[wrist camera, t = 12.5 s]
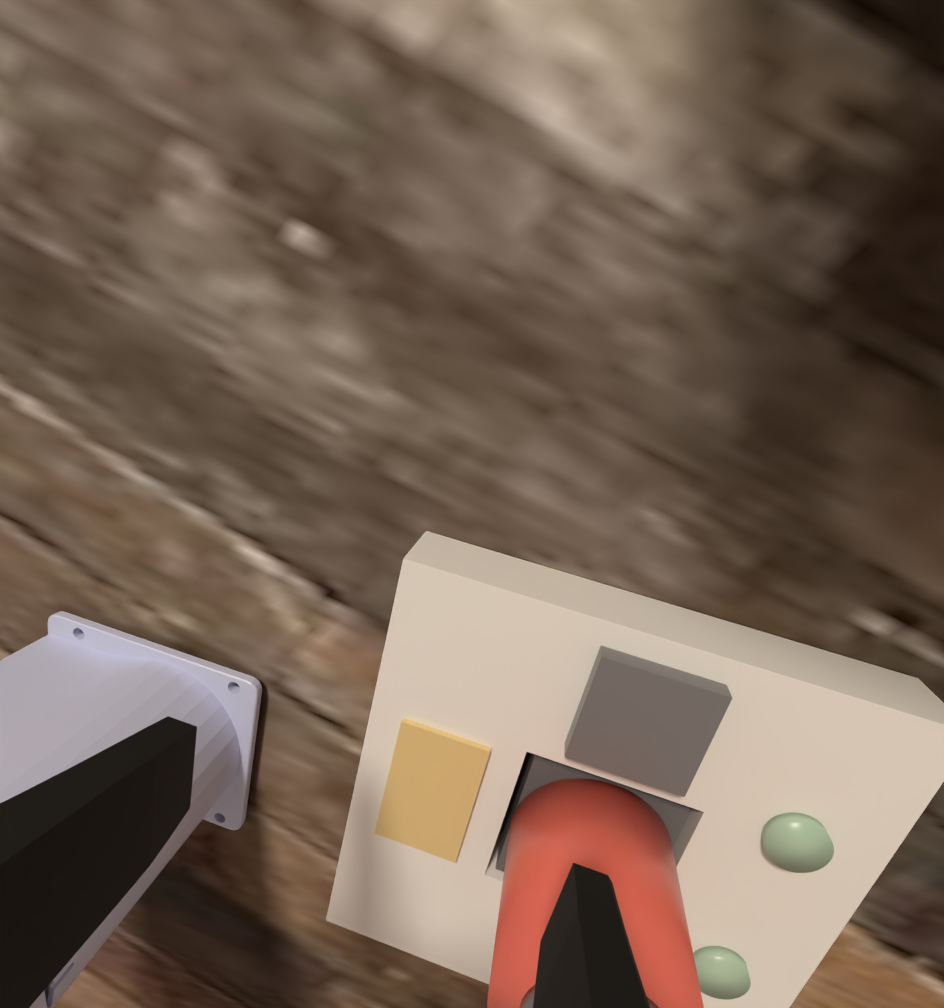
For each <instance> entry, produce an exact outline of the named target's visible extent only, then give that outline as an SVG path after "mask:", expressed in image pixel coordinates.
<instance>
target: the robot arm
mask: <svg viewBox="0 0 944 1008" xmlns="http://www.w3.org/2000/svg"><path fill="white" fill-rule="evenodd" d="M234 682H235V683H237V684H238V685H239V687H238V686H237V685H236V684H235V683H234ZM261 695H262V686H261V684H260V682H259V681H258V680H257V679H256V678H254V677H252V676H250V675H247V674H244V673H241V672H238V671H235V670H232V669H229V668H226V667H224V666H221V665H218V664H215V663H212V662H209V661H206V660H203V659H200V658H197V657H194V656H192V655H189V654H186V653H183V652H180V651H177V650H174V649H171V648H168V647H165V646H163V645H160V644H157V643H154V642H151V641H148V640H145V639H142V638H139V637H136V636H134V635H131V634H128V633H125V632H122V631H119V630H116V629H113V628H110V627H107V626H105V625H102V624H99V623H96V622H93V621H90V620H87V619H84V618H81V617H78V616H76V615H73V614H70V613H67V612H63V611H60V612H57V613H55V614H53V615H51V616H50V617H49V619H48V635H47V636H45V637H43V638H41V639H39V640H37V641H35V642H34V643H32V644H30V645H28V646H26V647H24V648H23V649H21V650H19V651H17V652H15V653H13V654H11V655H10V656H8V657H6V658H4V659H2V660H0V1008H53V1006H54V1005H55V1004H56V1003H57V1001H58V1000H59V999H60V998H61V996H62V995H63V994H64V993H65V991H66V990H67V989H68V988H69V986H70V985H71V984H72V982H73V981H74V980H75V979H76V977H77V976H78V975H79V974H80V972H81V971H82V970H83V969H84V967H85V966H86V965H87V964H88V962H89V961H90V960H91V959H92V957H93V956H94V955H95V954H96V952H97V951H98V950H99V949H100V947H101V946H102V945H103V944H104V942H105V941H106V940H107V939H108V937H109V936H110V935H111V934H112V932H113V931H114V930H115V929H116V927H117V926H118V925H119V923H120V922H121V921H122V920H123V918H124V917H125V916H126V915H127V913H128V912H129V911H130V910H131V908H132V907H133V906H134V905H135V903H136V902H137V901H138V900H139V898H140V897H141V896H142V895H143V893H144V892H145V891H146V890H147V888H148V887H149V886H150V885H151V883H152V882H153V881H154V880H155V878H156V877H157V876H158V875H159V873H160V872H161V871H162V870H163V868H164V867H165V866H166V865H167V863H168V862H169V861H170V859H171V858H172V857H173V856H174V854H175V853H176V852H177V851H178V849H179V848H180V847H181V846H182V844H183V843H184V842H185V841H186V839H187V838H188V837H189V836H190V834H191V833H192V832H193V831H194V829H195V828H196V827H197V826H198V824H199V823H200V822H201V821H202V819H203V820H206V821H208V822H211V823H214V824H216V825H219V826H222V827H224V828H227V829H230V830H238V829H239V828H240V827H241V826H242V824H243V823H244V821H245V818H246V811H247V803H248V795H249V788H250V780H251V772H252V765H253V757H254V749H255V742H256V734H257V726H258V718H259V711H260V703H261ZM533 1008H650V1005H649V1002H648V999H647V996H646V993H645V990H644V987H643V984H642V981H641V978H640V975H639V972H638V969H637V966H636V962H635V959H634V956H633V953H632V950H631V946H630V943H629V940H628V936H627V933H626V930H625V926H624V923H623V920H622V916H621V913H620V909H619V906H618V902H617V898H616V895H615V891H614V887H613V884H612V881H611V879H610V878H609V876H608V875H606V874H604V873H601V872H598V871H595V870H593V869H590V868H587V867H584V866H582V865H579V864H576V863H573V864H572V867H571V869H570V871H569V874H568V876H567V879H566V881H565V883H564V886H563V888H562V891H561V893H560V895H559V898H558V900H557V903H556V905H555V907H554V910H553V912H552V915H551V917H550V920H549V922H548V924H547V927H546V929H545V932H544V934H543V936H542V939H541V941H540V950H539V958H538V966H537V975H536V983H535V993H534V1002H533Z"/></svg>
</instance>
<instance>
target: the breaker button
mask: <svg viewBox="0 0 944 1008" xmlns="http://www.w3.org/2000/svg"><path fill="white" fill-rule="evenodd" d="M573 778H585V779H595V780H601V781H605V782H609V783H612V784H615V785H618V786H620V787H623V788H625V789H627V790H629V791H631V792H633V793H634V794H636V795H637V796H639V797H640V798H642V799H643V800H644V801H646V802H647V803H648V804H649V805H650V806H651V807H652V808H653V809H654V810H655V811H656V812H657V813H658V814H659V816H660V817H661V819H662V820H663V822H664V824H665V825H666V827H667V829H668V832H669V835H670V839H671V844H672V848H673V846H674V844H675V842H676V840H677V838H678V836H679V834H680V832H681V830H682V828H683V826H684V824H685V822H686V820H687V818H688V816H689V814H690V811H689V807H688V806H685V805H682V804H679V803H676V802H673V801H670V800H667V799H664V798H661V797H658V796H655V795H653V794H650V793H647V792H644V791H641V790H638V789H635V788H632V787H629V786H626V785H623V784H620V783H617V782H614V781H611V780H608V779H606V778H603V777H600V776H597V775H594V774H591V773H588V772H585V771H582V770H579V769H576V768H573V767H570V766H567V765H564V764H562V763H559V762H556V761H553V760H550V759H547V758H544V757H541V756H538V755H535V754H532V753H529V752H526V755H525V758H524V761H523V764H522V767H521V770H520V773H519V776H518V779H517V782H516V784H515V787H514V790H513V793H512V796H511V799H510V802H509V805H508V808H507V811H506V814H505V817H504V819H503V823H502V830H501V836H500V842H499V849H498V855H497V861H496V868H495V869H497V870H500V871H502V872H504V869H505V861H506V854H507V846H508V838H509V831H510V824H511V820H512V816H513V814H514V812H515V810H516V808H517V806H518V805H519V804H520V802H521V801H522V800H523V799H524V798H525V797H526V796H527V795H528V794H530V793H531V792H532V791H534V790H535V789H537V788H539V787H541V786H543V785H546V784H548V783H551V782H555V781H558V780H564V779H573Z"/></svg>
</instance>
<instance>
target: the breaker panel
mask: <svg viewBox="0 0 944 1008" xmlns="http://www.w3.org/2000/svg"><path fill="white" fill-rule="evenodd" d="M526 752H529V753H532V754H535V755H538V756H541V757H544V758H547V759H550V760H553V761H556V762H559V763H562V764H564V765H567V766H570V767H573V768H576V769H579V770H582V771H585V772H588V773H591V774H594V775H597V776H600V777H603V778H606V779H608V780H611V781H614V782H617V783H620V784H623V785H626V786H629V787H632V788H635V789H638V790H641V791H644V792H647V793H650V794H653V795H655V796H658V797H661V798H664V799H667V800H670V801H673V802H676V803H679V804H682V805H685V806H688V807H689V811H690V814H689V816H688V818H687V820H686V822H685V824H684V826H683V828H682V830H681V832H680V834H679V836H678V838H677V840H676V842H675V844H674V846H673V848H672V849H673V854H674V859H675V864H676V869H677V874H678V879H679V884H680V889H681V894H682V899H683V904H684V910H685V915H686V920H687V925H688V930H689V935H690V940H691V945H692V950H693V955H694V960H695V965H696V970H697V975H698V980H699V986H700V991H701V996H702V1001H703V1006H704V1008H789V1007H790V1005H791V1004H792V1003H793V1001H794V1000H795V998H796V997H797V995H798V994H799V992H800V991H801V989H802V988H803V986H804V985H805V984H806V982H807V981H808V979H809V978H810V976H811V975H812V973H813V972H814V970H815V969H816V967H817V966H818V965H819V963H820V962H821V960H822V959H823V957H824V956H825V954H826V953H827V951H828V950H829V948H830V947H831V946H832V944H833V943H834V941H835V940H836V938H837V937H838V935H839V934H840V932H841V931H842V929H843V928H844V927H845V925H846V924H847V922H848V921H849V919H850V918H851V916H852V915H853V913H854V912H855V910H856V909H857V908H858V906H859V905H860V903H861V902H862V900H863V899H864V897H865V896H866V894H867V893H868V891H869V890H870V889H871V887H872V886H873V884H874V883H875V881H876V880H877V878H878V877H879V875H880V874H881V872H882V871H883V869H884V868H885V867H886V865H887V864H888V862H889V861H890V859H891V858H892V856H893V855H894V853H895V852H896V850H897V849H898V848H899V846H900V845H901V843H902V842H903V840H904V839H905V837H906V836H907V834H908V833H909V831H910V830H911V829H912V827H913V826H914V824H915V823H916V821H917V820H918V818H919V817H920V815H921V814H922V812H923V811H924V810H925V808H926V807H927V805H928V804H929V802H930V801H931V799H932V798H933V796H934V795H935V793H936V792H937V791H938V789H939V788H940V786H941V785H942V783H943V782H944V703H943V702H942V701H941V700H940V699H939V698H938V697H937V696H936V695H935V694H934V693H933V692H932V691H931V690H930V689H929V688H928V687H927V686H926V685H924V684H923V683H922V682H921V681H920V680H919V679H918V678H915V677H912V676H909V675H905V674H902V673H899V672H895V671H892V670H889V669H885V668H882V667H879V666H875V665H872V664H869V663H865V662H862V661H859V660H855V659H852V658H849V657H845V656H842V655H839V654H835V653H832V652H829V651H825V650H822V649H819V648H815V647H812V646H809V645H805V644H802V643H799V642H795V641H792V640H789V639H785V638H782V637H779V636H775V635H772V634H769V633H765V632H762V631H759V630H755V629H752V628H749V627H745V626H742V625H739V624H735V623H732V622H729V621H725V620H722V619H719V618H715V617H712V616H709V615H705V614H702V613H699V612H695V611H692V610H689V609H685V608H682V607H679V606H675V605H672V604H669V603H665V602H662V601H658V600H655V599H652V598H648V597H645V596H642V595H638V594H635V593H632V592H628V591H625V590H622V589H618V588H615V587H612V586H608V585H605V584H602V583H598V582H595V581H592V580H588V579H585V578H582V577H578V576H575V575H572V574H568V573H565V572H562V571H558V570H555V569H552V568H548V567H545V566H542V565H538V564H535V563H532V562H528V561H525V560H522V559H518V558H515V557H512V556H508V555H505V554H502V553H498V552H495V551H492V550H488V549H485V548H482V547H478V546H475V545H472V544H468V543H465V542H462V541H458V540H455V539H452V538H448V537H445V536H442V535H438V534H435V533H432V532H428V531H426V532H425V533H424V534H423V535H422V537H421V538H420V539H419V540H418V541H417V543H416V544H415V545H414V546H413V547H412V549H411V550H410V551H409V552H408V554H407V555H406V556H405V557H404V558H403V563H402V568H401V572H400V577H399V582H398V586H397V591H396V596H395V600H394V605H393V610H392V614H391V619H390V624H389V628H388V633H387V638H386V642H385V647H384V652H383V656H382V661H381V666H380V670H379V675H378V680H377V684H376V689H375V694H374V698H373V703H372V708H371V712H370V717H369V722H368V726H367V731H366V736H365V740H364V745H363V750H362V754H361V759H360V764H359V768H358V773H357V778H356V782H355V787H354V791H353V796H352V801H351V805H350V810H349V815H348V819H347V824H346V829H345V833H344V838H343V843H342V847H341V852H340V857H339V861H338V866H337V871H336V875H335V880H334V885H333V889H332V894H331V899H330V903H329V908H328V913H327V917H326V921H329V922H331V923H334V924H336V925H339V926H341V927H344V928H347V929H349V930H352V931H354V932H357V933H359V934H362V935H364V936H367V937H369V938H372V939H374V940H377V941H380V942H382V943H385V944H387V945H390V946H392V947H395V948H397V949H400V950H402V951H405V952H407V953H410V954H413V955H415V956H418V957H420V958H423V959H425V960H428V961H430V962H433V963H435V964H438V965H441V966H443V967H446V968H448V969H451V970H453V971H456V972H458V973H461V974H463V975H466V976H468V977H471V978H474V979H476V980H479V981H481V982H484V983H486V984H489V983H490V975H491V968H492V960H493V952H494V945H495V937H496V930H497V922H498V914H499V907H500V899H501V892H502V884H503V876H504V872H502V871H500V870H497V869H495V868H496V861H497V855H498V849H499V842H500V836H501V830H502V823H503V819H504V817H505V814H506V811H507V808H508V805H509V802H510V799H511V796H512V793H513V790H514V787H515V784H516V782H517V779H518V776H519V773H520V770H521V767H522V764H523V761H524V758H525V755H526Z"/></svg>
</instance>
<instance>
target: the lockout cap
mask: <svg viewBox="0 0 944 1008" xmlns="http://www.w3.org/2000/svg"><path fill="white" fill-rule="evenodd" d="M573 863H576V864H579V865H582V866H584V867H587V868H590V869H593V870H595V871H598V872H601V873H604V874H606V875H608V876H609V878H610V879H611V881H612V884H613V887H614V891H615V895H616V898H617V902H618V906H619V909H620V913H621V916H622V920H623V923H624V926H625V930H626V933H627V936H628V940H629V943H630V946H631V950H632V953H633V956H634V959H635V962H636V966H637V969H638V972H639V975H640V978H641V981H642V984H643V987H644V990H645V993H646V996H647V999H648V1002H649V1005H650V1008H704V1006H703V1001H702V996H701V991H700V986H699V980H698V975H697V970H696V965H695V960H694V955H693V950H692V945H691V940H690V935H689V930H688V925H687V920H686V915H685V910H684V904H683V899H682V894H681V889H680V884H679V879H678V874H677V869H676V864H675V859H674V854H673V849H672V844H671V839H670V835H669V832H668V829H667V827H666V825H665V824H664V822H663V820H662V819H661V817H660V816H659V814H658V813H657V812H656V811H655V810H654V809H653V808H652V807H651V806H650V805H649V804H648V803H647V802H646V801H644V800H643V799H642V798H640V797H639V796H637V795H636V794H634V793H633V792H631V791H629V790H627V789H625V788H623V787H620V786H618V785H615V784H612V783H609V782H605V781H601V780H595V779H585V778H573V779H564V780H558V781H555V782H551V783H548V784H546V785H543V786H541V787H539V788H537V789H535V790H534V791H532V792H531V793H530V794H528V795H527V796H526V797H525V798H524V799H523V800H522V801H521V802H520V804H519V805H518V806H517V808H516V810H515V812H514V814H513V816H512V820H511V824H510V831H509V838H508V846H507V854H506V861H505V869H504V876H503V884H502V892H501V899H500V907H499V914H498V922H497V930H496V937H495V945H494V952H493V960H492V968H491V975H490V983H489V990H488V998H487V1008H533V1002H534V993H535V983H536V975H537V966H538V958H539V950H540V941H541V939H542V936H543V934H544V932H545V929H546V927H547V924H548V922H549V920H550V917H551V915H552V912H553V910H554V907H555V905H556V903H557V900H558V898H559V895H560V893H561V891H562V888H563V886H564V883H565V881H566V879H567V876H568V874H569V871H570V869H571V867H572V864H573Z"/></svg>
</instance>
